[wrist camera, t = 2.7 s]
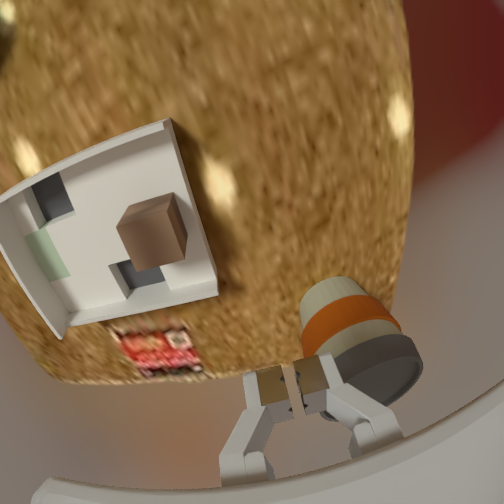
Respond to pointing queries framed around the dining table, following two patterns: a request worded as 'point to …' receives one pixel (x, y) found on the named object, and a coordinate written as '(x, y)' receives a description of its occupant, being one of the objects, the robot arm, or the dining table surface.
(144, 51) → the dining table surface
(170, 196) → the walnut cube
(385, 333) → the reusable coffee cup
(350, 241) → the dining table surface
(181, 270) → the box
